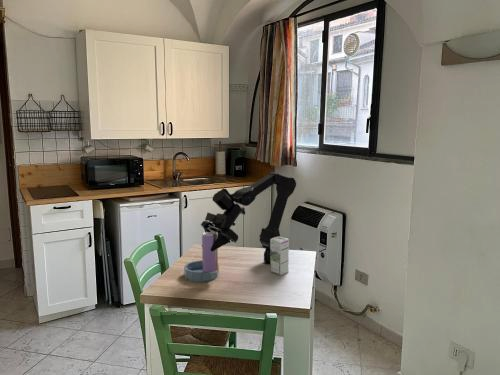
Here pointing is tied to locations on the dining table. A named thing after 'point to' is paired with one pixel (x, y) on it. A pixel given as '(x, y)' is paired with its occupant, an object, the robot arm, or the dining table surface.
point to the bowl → (198, 272)
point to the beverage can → (209, 253)
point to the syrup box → (279, 255)
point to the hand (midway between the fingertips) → (206, 248)
